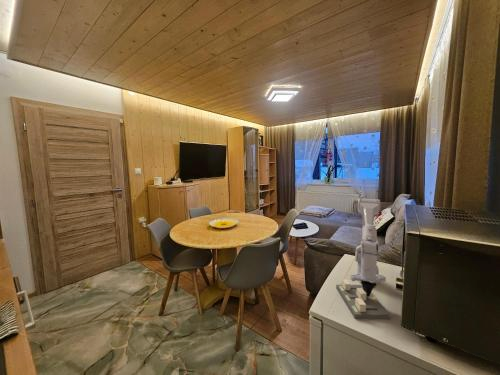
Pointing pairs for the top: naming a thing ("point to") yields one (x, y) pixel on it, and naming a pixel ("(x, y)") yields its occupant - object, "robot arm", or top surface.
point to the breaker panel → (372, 304)
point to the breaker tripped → (361, 293)
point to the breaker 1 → (346, 284)
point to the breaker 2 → (360, 304)
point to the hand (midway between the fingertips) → (366, 295)
